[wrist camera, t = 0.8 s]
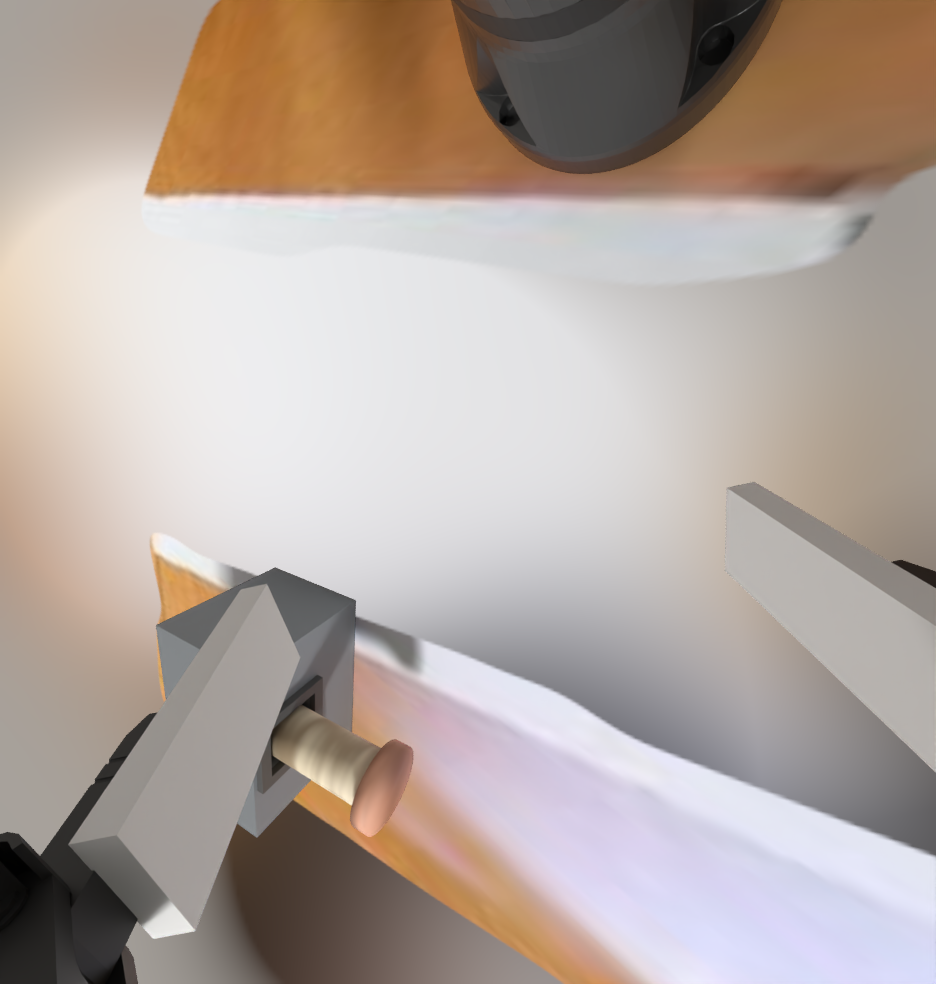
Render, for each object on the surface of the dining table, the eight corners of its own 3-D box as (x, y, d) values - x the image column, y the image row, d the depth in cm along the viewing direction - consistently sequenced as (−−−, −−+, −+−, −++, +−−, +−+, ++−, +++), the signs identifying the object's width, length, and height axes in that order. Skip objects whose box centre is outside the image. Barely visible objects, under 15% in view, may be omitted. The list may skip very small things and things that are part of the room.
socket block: (279, 696, 51) (176, 778, 41) (275, 567, 46) (155, 625, 36) (356, 739, 47) (262, 841, 37) (361, 602, 41) (253, 678, 32)
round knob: (289, 717, 42) (231, 767, 37) (287, 663, 40) (226, 708, 35) (410, 787, 37) (363, 856, 32) (415, 729, 35) (365, 793, 30)
